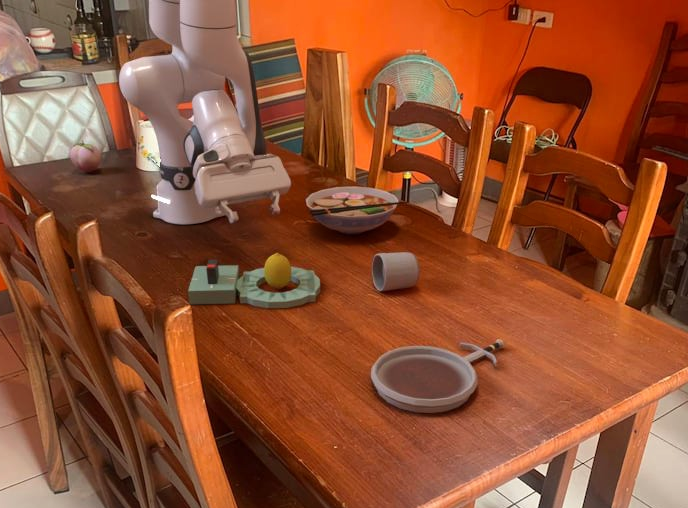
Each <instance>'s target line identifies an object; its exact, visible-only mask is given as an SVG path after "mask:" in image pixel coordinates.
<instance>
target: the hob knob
mask: <svg viewBox="0 0 688 508" xmlns="http://www.w3.org/2000/svg"><path fill="white" fill-rule="evenodd" d="M206 266H207V268H206V270H207V279H208V284H217V281H218V277H219V269H218V266H219V261H218V259H208V261H207V265H206Z"/></svg>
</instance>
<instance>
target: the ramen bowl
mask: <svg viewBox="0 0 688 508" xmlns="http://www.w3.org/2000/svg"><path fill="white" fill-rule="evenodd" d="M305 203H306V206H307V209H308V211H309V214H311V216H312V217H313V218H314V219H315V220H316V221H317V222H318V223H320V224H321V225H323V226H325V227H326V228H327V229H329V230H333V231H337V232H339V233H342V234H346V235H357V234H362V233H364V232H368V231H372V230H374V229H376V228H378V227H380V226H382V225H383V224H385V223H386V222H387V221H388V220H389V219H390V218H391V216H392V215H393V213H394V211H395V209H396V208H397V206H398V205H402V204H404V205H405V204H410V203H411V202H410V201H399V199H398V198H397V196H396V195H394V194H393V193H390V192H388V191H386V190H382V189H378V188H373V187H367V186H366V187H365V186H336V187H331V188H325V189H321V190H319V191H316V192H313V193H311V194H309V196H308V197H306V198H305Z"/></svg>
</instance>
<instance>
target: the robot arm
mask: <svg viewBox="0 0 688 508" xmlns="http://www.w3.org/2000/svg"><path fill="white" fill-rule="evenodd" d="M236 13H237V12H236V2H235V0H148V23H149V26H150V29H151V31H152V33H153V34H154V35H155V37H157V38H158V39H159V40H161V41H163V42H164V43H166V44H168V45H171V48H172V50H171V53H169V54H164V55H162V54H161V55H153V56H142V57H139V58H135V59H133V60H130V61H127V62H124V64H123V65H122V67H121V69H120V71H119V75H118V83H119V89H120V92H121V94H122V95H123V97H124V99H125V100H126V101H127V102H128V103H129V104H130V105H131V106H133V107H134V108H136V109H138V110H139V111H140V112H141V113H142V114H143V115H144V116H145V117H146V118H147V119H148V121H149V122H150V124H151V126H152V128H153V130H154V132H155V136H156V141H157V146H158V151H159V152H158V153H159V157H160V159H161V162H160V167H159V166H157V167H158V169H159V173H160V178H161V180H160V181H159V182H158V184H157V185H156V195H155V194H151V198H152V199H154V200H157V208H156V209H155V210H154V211H153V212H152V216H153V218H156V219H161V220H162V221H164V222H166V223H169V224H174V225H194V224H200V223H205V222H209V221H211V220H214V219H216V218H220V217H224V216H226V217H227V219H228V221H229V223H230V224H235V223H239V219H240V218H239V215H238V212H237V210H236V211H233V210H232V209H230V207H228V206H229V205H234V204H238V203H244V202H245V203H246V202H249V201H256V200H261V199H267V198H269V199H270V201H271V202H272V203H271V205H270V207H269V208H268V209H269V212H270V214H271V215H272V216H276V215H279V214H280V213H281V208H280V206H279V202H280V196H283V195H287V193H288V192H289V190H290V189H291V186H292V181H291V178H290V176H289V174H288V172H287V170H286V168H285V167H284V164H283V161H282V160H281V158H280V157H279V156H278V155H275V154H273V153H267V151H268V150H267V141H266V137H265V133H264V129H263V125H262V120H261V119H262V118H261V111H260V105H259V98H258V91H257V90H258V89H257V84H256V77H255V72H254V65H253V62H252V58H251V55H250V54H249V52H248V50H246V49H245V48H243V47H242V45H241V44H240V41H239V39H238V34H237V17H236V16H237V15H236ZM226 78H227V79H228V80H229V81H230V82H231V84H232V87H233V91H234V97H235V102H236V103H235V105H236V107H235V105H234V103H233V101H232V100H231V98H230V96H229V94H228V93H227V92H226V91H224V88H225V85H226ZM181 104H191V106H192V113H193V120H190V119H188V118H186V117H183V116H181V114H180V110H179V105H181Z"/></svg>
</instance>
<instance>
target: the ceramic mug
mask: <svg viewBox="0 0 688 508" xmlns="http://www.w3.org/2000/svg"><path fill="white" fill-rule="evenodd" d="M371 274H372V275H371V276H372V281H373V285H374V286H375V288H376V290H378V291H379V292H387V291H393V290H400V289H409V288H412V287H414V286H416V285H417V284H418V282H419V280H420V277H421V265H420V262H419V259H418V257H417V256H416V255H415V254H414V253H413V252H405V251H404V252H403V251H402V252H401V251H400V252H380V253H379V252H378V253H376V254H375V255H374V257H373V259H372V262H371Z"/></svg>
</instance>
